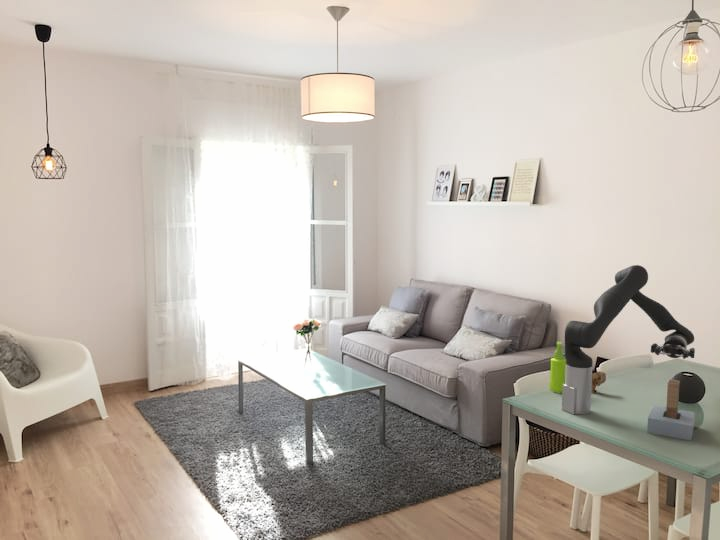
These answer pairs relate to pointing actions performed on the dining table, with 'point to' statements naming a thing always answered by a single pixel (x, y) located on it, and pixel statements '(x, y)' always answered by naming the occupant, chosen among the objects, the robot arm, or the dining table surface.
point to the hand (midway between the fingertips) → (670, 354)
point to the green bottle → (557, 370)
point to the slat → (672, 399)
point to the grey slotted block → (671, 423)
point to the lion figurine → (597, 380)
